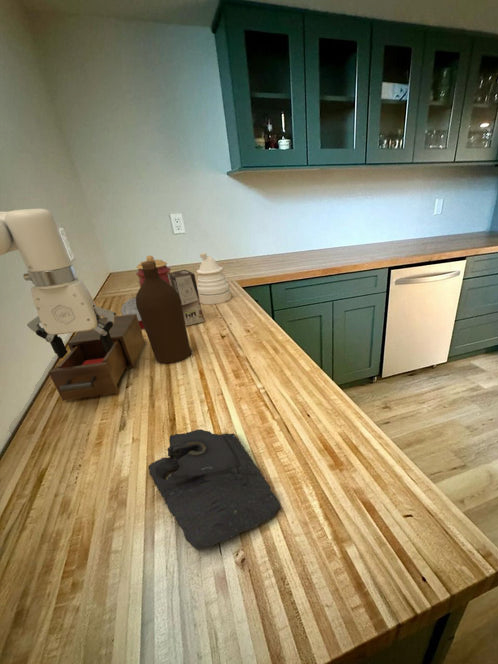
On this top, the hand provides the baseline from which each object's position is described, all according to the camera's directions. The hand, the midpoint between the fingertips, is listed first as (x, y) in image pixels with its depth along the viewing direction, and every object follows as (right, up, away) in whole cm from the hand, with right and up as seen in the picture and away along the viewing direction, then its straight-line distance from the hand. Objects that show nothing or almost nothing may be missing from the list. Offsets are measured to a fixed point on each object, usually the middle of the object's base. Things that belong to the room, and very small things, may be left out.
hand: (86, 352), depth 76 cm
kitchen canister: (-9, +25, +62) cm, 68 cm away
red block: (0, -6, +3) cm, 7 cm away
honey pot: (+14, +25, +60) cm, 66 cm away
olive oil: (+14, 0, +16) cm, 21 cm away
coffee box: (+11, +14, +40) cm, 43 cm away
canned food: (-6, +12, +39) cm, 41 cm away
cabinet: (-3, 0, +17) cm, 17 cm away
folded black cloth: (+35, -23, -24) cm, 48 cm away
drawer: (+1, -7, +3) cm, 8 cm away
